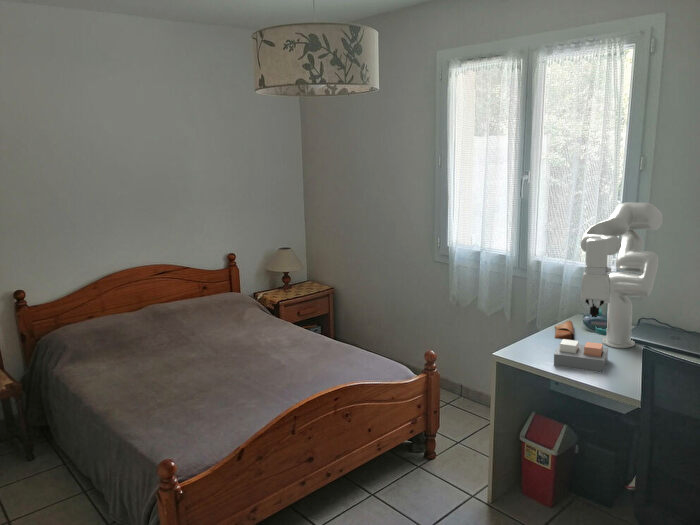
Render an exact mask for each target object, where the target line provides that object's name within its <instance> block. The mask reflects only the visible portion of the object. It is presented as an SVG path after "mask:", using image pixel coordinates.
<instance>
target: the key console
mask: <svg viewBox="0 0 700 525" xmlns="http://www.w3.org/2000/svg"><path fill="white" fill-rule="evenodd" d="M584 346H585V345H584V344H580V343H578V351H577V353H569V352H562V351H560V343H559V345H558V346H557V348H556V350H555V352H554V354H553V366H554V367H561V368H562V367H563V368H568V369H573V370H574V369H575V370H580V371H587V372H588V371H589V372H594V373H595V372H596V373H601V374H604V372H605V368H606V366H607V362H608V360H609V359H608V356H609V347H603V353H602V355H601V357H600V356H592V355H584Z"/></svg>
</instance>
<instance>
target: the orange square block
mask: <svg viewBox="0 0 700 525" xmlns="http://www.w3.org/2000/svg"><path fill="white" fill-rule="evenodd" d="M603 348H604V343H598V342H591V341H586V342H585V346H584V355H592V356H600V357H601V355H602V353H603Z"/></svg>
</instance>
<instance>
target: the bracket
mask: <svg viewBox="0 0 700 525" xmlns="http://www.w3.org/2000/svg"><path fill="white" fill-rule="evenodd" d="M602 314H603V309H602V308H599V315H597V316H602V317H603V315H602ZM595 333H596V334H598V335H603V336H607V328H606V329H602V328H597V327H596V326H595Z"/></svg>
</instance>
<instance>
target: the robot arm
mask: <svg viewBox="0 0 700 525" xmlns="http://www.w3.org/2000/svg"><path fill="white" fill-rule="evenodd" d="M663 218H664V217H663V213H662V212H661V210H660V209H658V208H657V207H656V206H655V205H653V204H652V203H649V202H629V201H628V202H623V203H620V204H619V205H617V206H616V208H615V209H614V211H613V212H612V214H611V215H610V216H609V218H608V219H605V220H602V221H600V222H598V223H595V224H593V225H591V226H590V227H588V229H587V230H586V231H585V233H584V234H583V235H582V238H581V241H580V249H581V250H582V252H585V265H584V266H585V268H584V270H585V272H583V274H582V278H581V286H580V297H579V301H581V302H583V303H584V302H585V303H586V304H587V305H588V307H589V314H590V315H591V318H596V317H597V315H599V309H600V307H601V306H603V305H604V304H607V308H606V309H607V310H606V311H607V312H606V319H607V335H605V337H602V340H601V342H602V344H603V345H605V346H608V347H611V348H616V349H617V348H619V349H629V348H632V347H634V346H635V344H636V342H635V340H634V339H632V322H633V321H632V320H633V303H632V300H631V299H630V298H629V297H637V298H648V297H649V296H650V295H651V294H652V291H653V287H654V284H655V279H656V276H657V271H658V268H659V258H658V257H659V256H658V254H656V253H655V252H653V251H647V250H642V249H643V245H644V241H643V240H644V239H643V238H642V237H641V235H640V234H639V233H638V232H637V231H636V230H646V231H647V230H648V231H649V230H650V231H654V230H655V231H656V230H659V229H660V228H661V227H662V225H663V221H664V220H663ZM620 237H621V239H620ZM614 255H617V256H616V260H615V267H616V268H617V270H619V271H612V268H611V267H610V268H609V267H608V256H614ZM609 272H611V273H609ZM594 301H596V304H595V303H594ZM631 339H632V340H631ZM633 340H634V341H633Z"/></svg>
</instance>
